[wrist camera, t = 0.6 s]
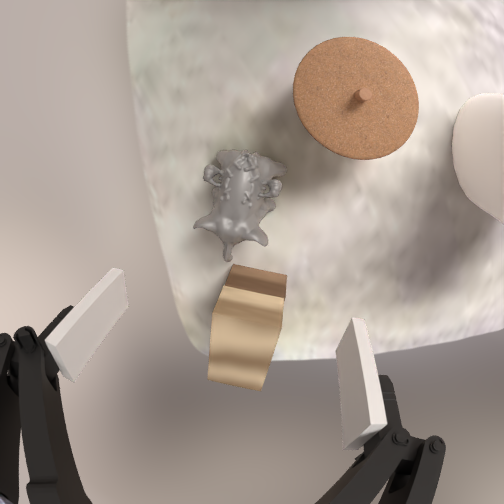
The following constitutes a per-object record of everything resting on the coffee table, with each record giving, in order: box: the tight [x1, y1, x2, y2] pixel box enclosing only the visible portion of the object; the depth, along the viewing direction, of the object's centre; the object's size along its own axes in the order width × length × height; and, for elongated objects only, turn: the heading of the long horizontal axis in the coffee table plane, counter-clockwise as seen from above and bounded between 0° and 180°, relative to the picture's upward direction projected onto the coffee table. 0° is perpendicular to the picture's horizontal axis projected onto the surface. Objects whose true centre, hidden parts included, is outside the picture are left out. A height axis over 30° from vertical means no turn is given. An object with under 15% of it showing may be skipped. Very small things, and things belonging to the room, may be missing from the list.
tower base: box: [225, 264, 287, 301], centre depth 36 cm, size 12×7×5 cm, turn 171°
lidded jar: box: [293, 37, 419, 160], centre depth 20 cm, size 11×11×9 cm
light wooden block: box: [208, 286, 284, 391], centre depth 32 cm, size 12×7×5 cm, turn 171°
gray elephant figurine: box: [193, 150, 287, 262], centre depth 28 cm, size 9×12×8 cm
